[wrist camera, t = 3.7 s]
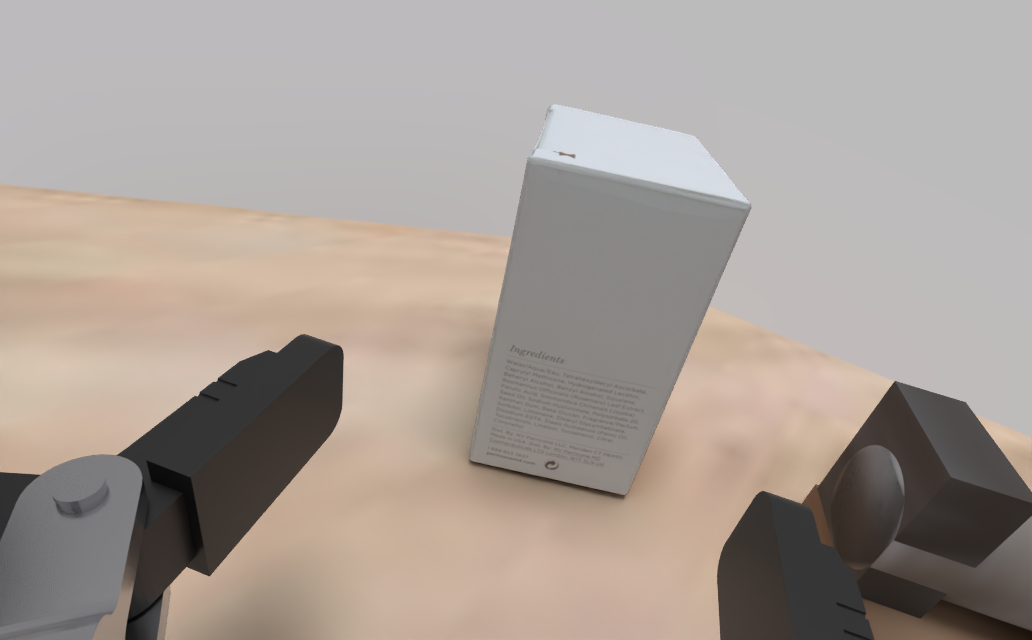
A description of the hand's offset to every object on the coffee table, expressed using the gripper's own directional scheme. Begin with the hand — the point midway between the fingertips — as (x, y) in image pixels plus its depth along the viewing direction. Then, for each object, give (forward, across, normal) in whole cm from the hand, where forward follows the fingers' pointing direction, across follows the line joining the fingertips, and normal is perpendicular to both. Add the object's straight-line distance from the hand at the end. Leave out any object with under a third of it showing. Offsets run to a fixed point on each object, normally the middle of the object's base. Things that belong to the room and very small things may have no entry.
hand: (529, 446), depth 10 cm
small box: (+9, 0, +7) cm, 12 cm away
